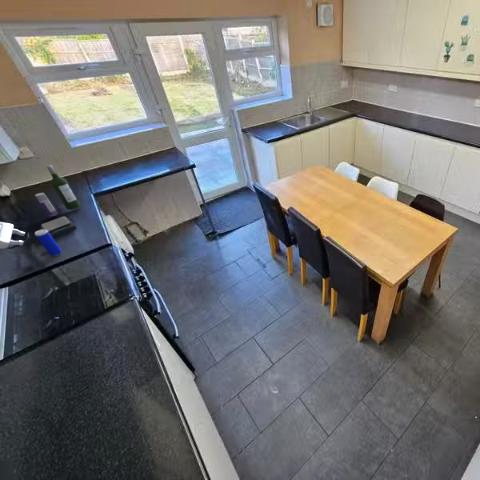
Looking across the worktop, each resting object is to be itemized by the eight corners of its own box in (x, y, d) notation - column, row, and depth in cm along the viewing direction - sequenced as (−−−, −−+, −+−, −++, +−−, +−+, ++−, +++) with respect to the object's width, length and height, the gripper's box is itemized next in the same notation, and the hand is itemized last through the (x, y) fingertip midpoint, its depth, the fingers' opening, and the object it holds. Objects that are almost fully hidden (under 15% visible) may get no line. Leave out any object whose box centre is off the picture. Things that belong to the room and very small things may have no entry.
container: (47, 215, 182) (33, 195, 173) (54, 212, 185) (41, 192, 176) (51, 216, 180) (37, 196, 172) (59, 213, 184) (46, 193, 175)
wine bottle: (73, 204, 193) (49, 163, 176) (83, 204, 192) (59, 163, 175) (63, 209, 187) (37, 167, 170) (73, 209, 186) (48, 167, 169)
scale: (49, 239, 161) (46, 235, 159) (42, 229, 169) (39, 225, 168) (76, 228, 170) (74, 224, 168) (69, 219, 178) (66, 216, 176)
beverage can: (61, 250, 154) (46, 227, 145) (63, 253, 151) (47, 231, 142) (50, 254, 151) (33, 231, 142) (51, 258, 148) (34, 235, 139)
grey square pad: (47, 232, 162) (46, 231, 161) (41, 225, 168) (41, 224, 167) (70, 223, 169) (69, 222, 168) (65, 217, 175) (64, 216, 174)
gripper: (-17, 226, 135) (23, 234, 146) (-25, 247, 122) (19, 254, 133) (-12, 215, 134) (28, 224, 145) (-19, 235, 121) (24, 243, 132)
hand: (24, 238), depth 139 cm, fingers open, 8 cm apart
